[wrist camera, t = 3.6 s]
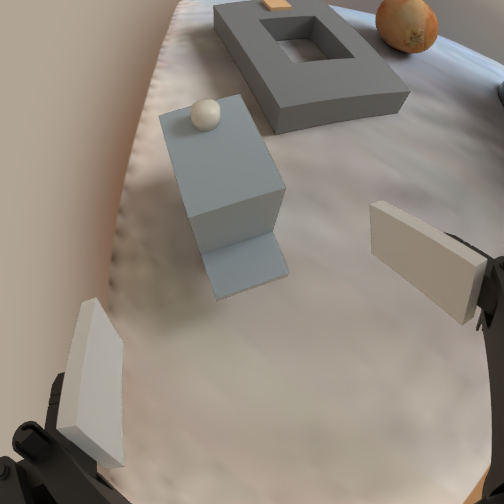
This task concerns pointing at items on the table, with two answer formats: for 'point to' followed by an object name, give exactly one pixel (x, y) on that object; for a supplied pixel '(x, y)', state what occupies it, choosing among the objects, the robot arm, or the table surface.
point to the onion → (407, 25)
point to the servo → (227, 192)
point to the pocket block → (307, 64)
